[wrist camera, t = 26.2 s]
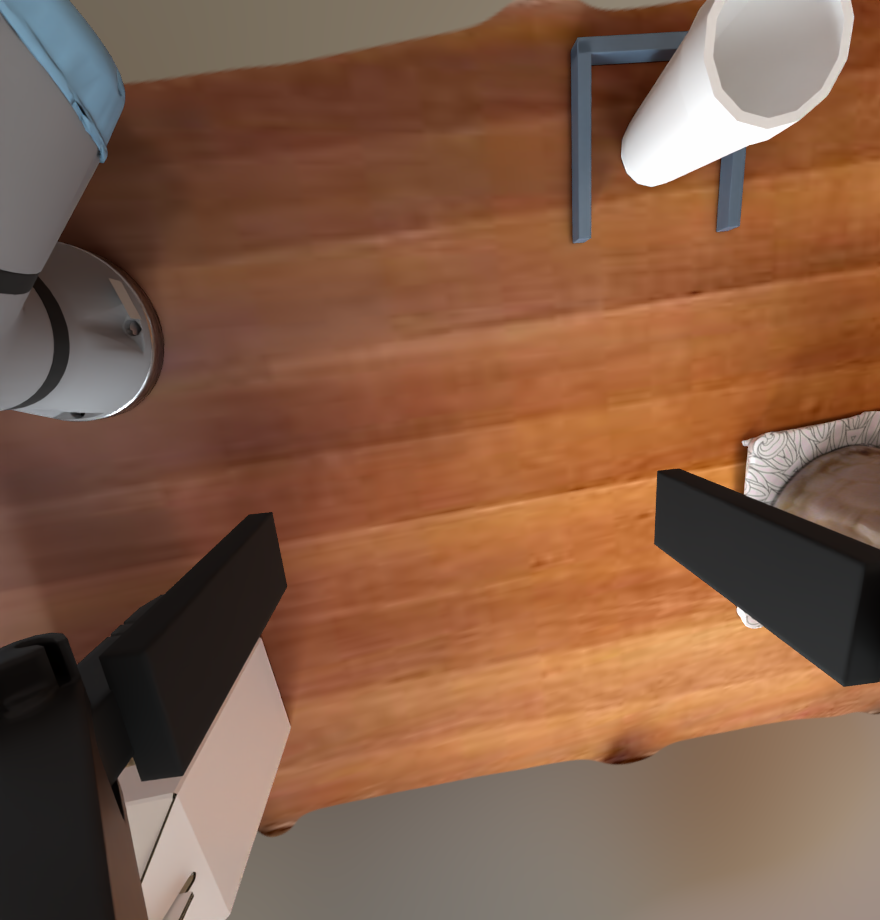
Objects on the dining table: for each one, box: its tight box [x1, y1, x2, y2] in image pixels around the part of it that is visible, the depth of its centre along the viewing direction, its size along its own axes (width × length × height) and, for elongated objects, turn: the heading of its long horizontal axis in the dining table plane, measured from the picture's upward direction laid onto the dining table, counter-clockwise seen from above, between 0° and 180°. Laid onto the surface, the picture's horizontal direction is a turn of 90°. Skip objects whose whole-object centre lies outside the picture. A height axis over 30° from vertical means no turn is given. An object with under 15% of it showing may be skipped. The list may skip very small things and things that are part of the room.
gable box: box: [118, 637, 291, 920], centre depth 34 cm, size 22×13×28 cm, turn 100°
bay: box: [571, 31, 746, 243], centre depth 36 cm, size 15×15×2 cm
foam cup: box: [621, 0, 854, 187], centre depth 31 cm, size 10×9×13 cm
